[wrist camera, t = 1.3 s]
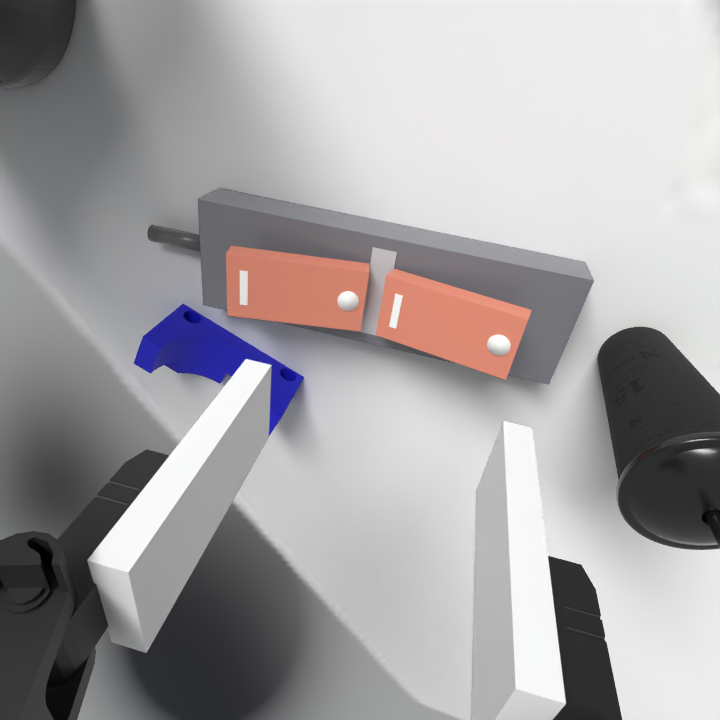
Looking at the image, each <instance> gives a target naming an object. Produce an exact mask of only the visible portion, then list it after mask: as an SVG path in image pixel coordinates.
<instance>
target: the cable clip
mask: <svg viewBox="0 0 720 720" xmlns="http://www.w3.org/2000/svg"><path fill="white" fill-rule="evenodd" d="M245 359H248V360H253V361H257V362H261V363H265V364H269V365H272V367H271V393H270V419H269V435H270V434H271V432H272V431H273V429H274V428H275V426H276V425H277V423H278V422H279V420H280V419H281V417H282V415H283V414H284V412H285V410H286V408H287V407H288V405H289V403H290V401H291V399H292V398H293V396H294V394H295V392H296V391H297V389H298V387H299V385H300V384H301V382H302V380H303V378H304V377H303V376H301V375H299V374H298V373H296V372H294V371H293V370H291V369H289V368H288V367H286V366H285V365H283V364H281V363H280V362H278V361H276V360H275V359H273V358H271V357H270V356H268V355H266V354H265V353H263V352H262V351H260V350H258V349H257V348H255V347H253V346H252V345H250V344H248V343H247V342H245V341H243V340H242V339H240V338H239V337H237V336H235V335H234V334H232V333H230V332H229V331H227V330H225V329H224V328H222V327H220V326H219V325H217V324H216V323H214V322H212V321H211V320H209V319H207V318H206V317H204V316H202V315H201V314H199V313H197V312H196V311H194V310H193V309H191V308H189V307H188V306H186V305H184V304H182V305H181V306H180V307H179V308H177V309H176V310H175V311H174V312H172V313H171V314H170V315H169V316H168V317H166V318H165V319H164V320H163V321H161V322H160V323H159V324H158V325H157V326H155V327H154V328H153V329H152V330H150V331H149V332H148V333H147V334H146V335H144V336H143V338H142V341H141V344H140V347H139V349H138V352H137V355H136V358H135V361H134V364H136V365H137V366H139V367H141V368H142V369H144V370H146V371H147V372H149V373H152V372H153V371H154V370H156V369H157V368H159V367H161V366H163V365H165V366H167V367H169V368H170V369H172V370H174V371H175V372H177V373H191V374H197V375H201V376H204V377H207V378H210V379H212V380H214V381H216V382H218V383H221V382H222V381H223V379H224V378H225V377H226V376H227V374H229V375H230V376H233V375H234V373H235V372H236V371H237V370H238V368H239V367H240V366H241V365H242V363H243V362H244V361H245Z"/></svg>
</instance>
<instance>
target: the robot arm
mask: <svg viewBox="0 0 720 720" xmlns="http://www.w3.org/2000/svg"><path fill="white" fill-rule="evenodd" d="M74 7H75V0H0V89H5V88H19V87H24V86H28V85H31V84H33V83H36V82H37V81H39V80H41V79H42V78H44V77H45V76H46V75H48V74H49V73H50V72H51V71H52V70H53V69H54V67H55V66H56V65H57V63H58V62H59V60H60V59H61V57H62V55H63V53H64V51H65V49H66V47H67V44H68V41H69V38H70V34H71V30H72V25H73V19H74ZM271 367H272V365H269V364H265V363H261V362H257V361H253V360H248V359H245V361H244V362H243V363H242V365H241V366H240V367H239V368H238V370H237V371H236V372H235V373H234V375H233V376H232V377H231V379H230V380H229V381H228V382H227V384H226V385H225V386H224V387H223V389H222V390H221V391H220V392H219V394H218V395H217V396H216V398H215V399H214V400H213V401H212V403H211V404H210V405H209V406H208V408H207V409H206V410H205V411H204V413H203V414H202V415H201V417H200V418H199V419H198V420H197V422H196V423H195V424H194V425H193V427H192V428H191V429H190V431H189V432H188V433H187V434H186V436H185V437H184V438H183V439H182V441H181V442H180V443H179V444H178V446H177V447H176V448H175V450H174V451H173V452H172V453H171V455H170V456H168V455H165V454H162V453H158V452H154V451H150V450H145V451H144V452H142V453H140V454H139V455H137V456H135V457H134V458H132V459H130V460H129V461H127V462H125V464H124V465H123V466H122V467H121V468H120V469H119V470H118V472H117V473H116V474H115V475H114V476H113V477H112V478H111V479H110V482H109V483H107V484H106V485H105V486H104V487H103V488H102V490H101V491H100V492H99V493H98V495H97V497H96V498H94V499H93V500H92V501H91V502H90V503H89V505H87V507H86V508H85V509H84V510H83V511H82V512H81V513H80V515H79V516H78V517H77V518H76V519H75V520H74V521H73V522H72V523H71V525H70V526H69V527H68V528H67V529H66V530H65V531H64V533H63V534H62V535H61V536H60V537H59V539H55V538H54V537H52V536H51V535H49V534H48V533H42V532H36V531H32V532H25V533H18V534H15V535H13V536H10V537H7V538H5V539H3V540H0V720H77V718H78V715H79V712H80V708H81V705H82V702H83V698H84V695H85V692H86V689H87V686H88V682H89V680H90V676H91V673H92V670H93V667H94V664H95V654H96V650H95V645H96V644H97V642H98V641H99V639H100V638H101V636H102V635H103V633H104V632H105V630H106V629H108V632H109V635H110V638H111V642H114V643H117V644H120V645H123V646H126V647H130V648H133V649H136V650H139V651H142V652H145V653H147V651H148V649H149V647H150V645H151V644H152V642H153V640H154V638H155V637H156V635H157V633H158V631H159V630H160V628H161V626H162V624H163V623H164V621H165V619H166V617H167V616H168V614H169V612H170V610H171V609H172V607H173V605H174V603H175V601H176V599H177V598H178V596H179V594H180V593H181V591H182V589H183V587H184V586H185V584H186V582H187V580H188V578H189V577H190V575H191V573H192V571H193V570H194V568H195V566H196V564H197V563H198V561H199V559H200V557H201V555H202V554H203V552H204V550H205V549H206V547H207V545H208V543H209V541H210V540H211V538H212V536H213V534H214V533H215V531H216V529H217V527H218V526H219V524H220V522H221V520H222V519H223V517H224V515H225V513H226V511H227V510H228V508H229V506H230V505H231V503H232V501H233V499H234V498H235V496H236V494H237V492H238V491H239V489H240V487H241V485H242V483H243V482H244V480H245V478H246V476H247V475H248V473H249V471H250V469H251V468H252V466H253V464H254V462H255V461H256V459H257V457H258V455H259V454H260V452H261V450H262V448H263V446H264V445H265V443H266V441H267V439H268V438H269V419H270V393H271ZM600 616H601V614H600V609H599V604H598V599H597V594H596V589H595V588H594V586H593V584H592V582H591V581H590V579H589V577H588V576H587V574H586V572H585V570H584V569H583V567H582V565H580V564H576V563H573V562H569V561H565V560H561V559H558V558H554V557H550V556H548V553H547V545H546V537H545V528H544V520H543V512H542V504H541V496H540V488H539V479H538V471H537V463H536V455H535V447H534V438H533V430H532V428H531V427H527V426H523V425H518V424H514V423H510V422H506V421H503V423H502V426H501V428H500V431H499V433H498V436H497V439H496V441H495V444H494V446H493V449H492V451H491V454H490V456H489V459H488V462H487V464H486V467H485V469H484V472H483V474H482V477H481V480H480V482H479V485H478V487H477V490H476V521H475V563H474V606H473V648H472V691H471V720H622V717H621V712H620V707H619V702H618V697H617V692H616V687H615V682H614V677H613V673H612V668H611V663H610V658H609V653H608V648H607V643H606V641H605V640H604V638H605V633H604V628H603V623H602V620H600Z"/></svg>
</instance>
